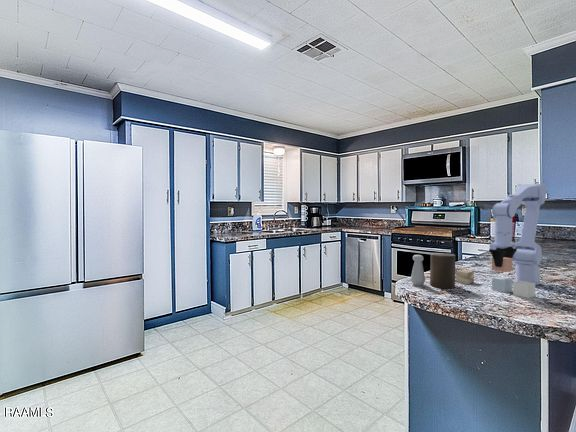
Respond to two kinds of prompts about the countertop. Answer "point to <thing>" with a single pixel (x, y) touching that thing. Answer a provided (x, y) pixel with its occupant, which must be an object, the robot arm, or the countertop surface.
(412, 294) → the countertop surface
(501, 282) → the blue-grey block
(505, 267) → the terracotta block
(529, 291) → the cream block
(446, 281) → the pillar candle
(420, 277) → the salt shaker
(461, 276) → the maple block
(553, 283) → the countertop surface
